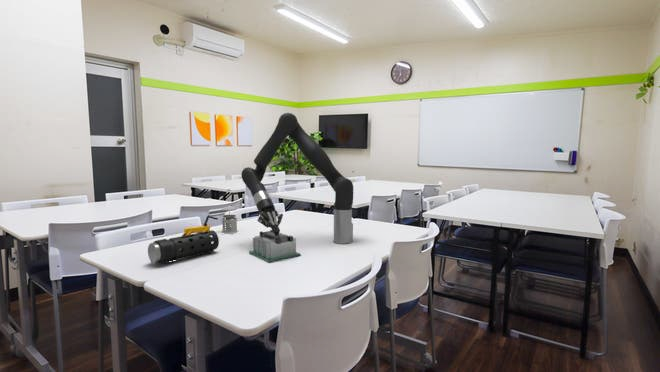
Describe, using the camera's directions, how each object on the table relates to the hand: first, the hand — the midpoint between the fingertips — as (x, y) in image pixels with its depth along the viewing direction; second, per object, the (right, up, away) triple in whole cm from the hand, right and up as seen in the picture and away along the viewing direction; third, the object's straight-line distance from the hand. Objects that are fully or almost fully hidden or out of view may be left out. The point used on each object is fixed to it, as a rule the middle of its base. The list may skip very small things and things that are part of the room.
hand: (277, 233), depth 157 cm
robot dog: (-42, -8, +23) cm, 49 cm away
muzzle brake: (-40, -11, -3) cm, 41 cm away
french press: (-35, -6, +45) cm, 57 cm away
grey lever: (-2, -3, +2) cm, 4 cm away
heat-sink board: (-2, -10, +3) cm, 11 cm away
